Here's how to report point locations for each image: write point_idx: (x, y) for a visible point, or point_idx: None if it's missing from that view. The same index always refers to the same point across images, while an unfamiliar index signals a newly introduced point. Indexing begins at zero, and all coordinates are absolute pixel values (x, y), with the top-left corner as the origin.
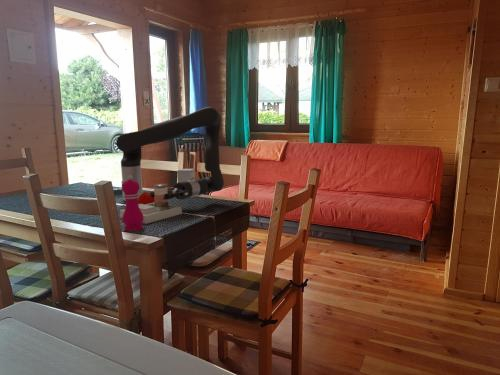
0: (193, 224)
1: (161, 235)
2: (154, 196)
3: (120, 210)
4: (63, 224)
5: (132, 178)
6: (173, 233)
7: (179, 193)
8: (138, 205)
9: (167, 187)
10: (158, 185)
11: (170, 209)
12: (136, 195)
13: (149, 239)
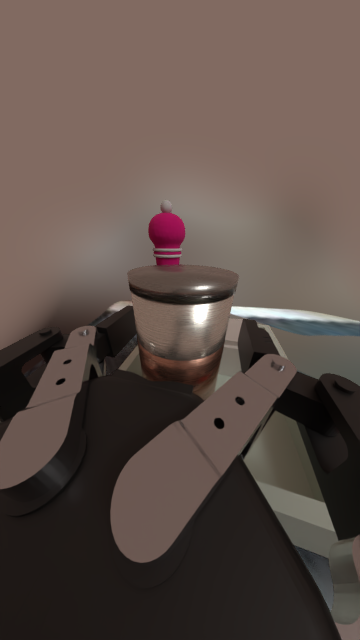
0: (38, 367)
1: (112, 314)
2: (239, 354)
3: (265, 325)
4: (307, 313)
5: (161, 208)
6: (92, 321)
7: (36, 338)
8: (236, 329)
9: (132, 298)
10: (185, 268)
11: (120, 366)
12: (154, 251)
13: (124, 306)
